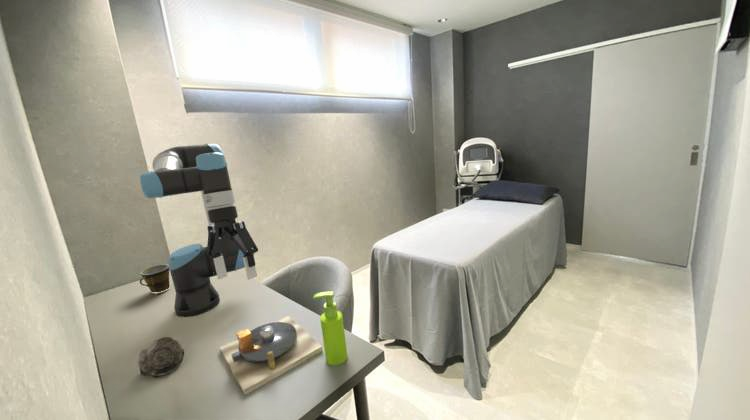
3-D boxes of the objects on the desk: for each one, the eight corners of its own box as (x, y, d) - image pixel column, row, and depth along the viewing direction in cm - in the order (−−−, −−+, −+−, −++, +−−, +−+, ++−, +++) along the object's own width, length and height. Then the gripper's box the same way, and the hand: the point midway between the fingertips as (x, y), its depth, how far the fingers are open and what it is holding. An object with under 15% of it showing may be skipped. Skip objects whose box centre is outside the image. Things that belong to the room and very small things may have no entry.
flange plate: (283, 319, 103) (280, 302, 101) (306, 342, 91) (303, 322, 89) (224, 346, 92) (220, 327, 90) (242, 376, 80) (238, 355, 78)
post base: (220, 351, 94) (216, 334, 93) (289, 319, 107) (286, 304, 106) (244, 395, 78) (240, 374, 76) (322, 350, 91) (319, 332, 89)
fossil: (164, 382, 83) (139, 353, 81) (143, 393, 86) (119, 365, 84) (194, 352, 93) (172, 326, 92) (174, 362, 96) (153, 337, 95)
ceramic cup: (159, 284, 142) (153, 264, 139) (179, 284, 141) (174, 264, 138) (134, 300, 130) (128, 278, 127) (156, 300, 128) (149, 278, 126)
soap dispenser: (323, 352, 90) (314, 289, 85) (347, 349, 91) (339, 286, 86) (321, 367, 85) (311, 300, 80) (347, 363, 85) (339, 297, 80)
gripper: (184, 213, 94) (200, 281, 96) (238, 204, 82) (255, 282, 84) (207, 209, 101) (222, 273, 103) (261, 200, 88) (276, 273, 90)
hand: (237, 277), depth 93 cm, fingers open, 13 cm apart
